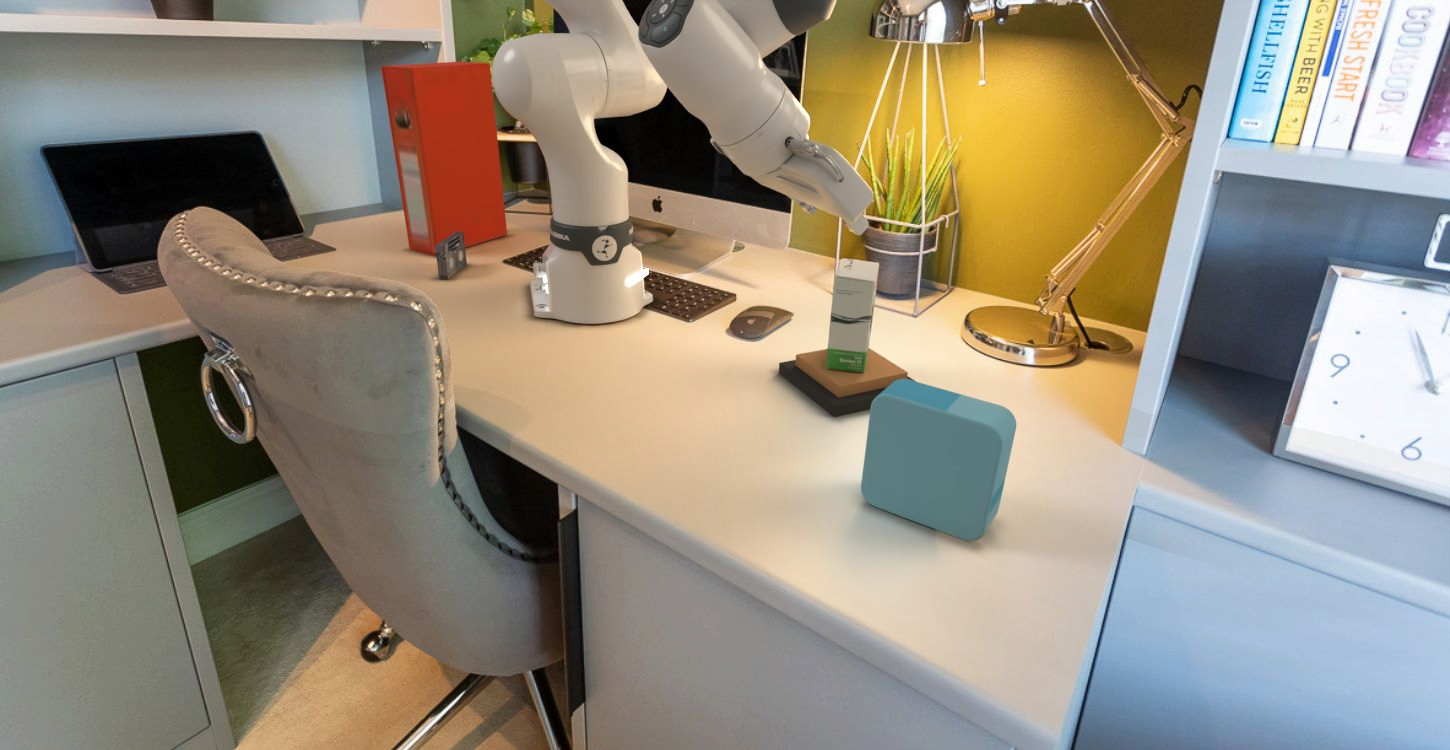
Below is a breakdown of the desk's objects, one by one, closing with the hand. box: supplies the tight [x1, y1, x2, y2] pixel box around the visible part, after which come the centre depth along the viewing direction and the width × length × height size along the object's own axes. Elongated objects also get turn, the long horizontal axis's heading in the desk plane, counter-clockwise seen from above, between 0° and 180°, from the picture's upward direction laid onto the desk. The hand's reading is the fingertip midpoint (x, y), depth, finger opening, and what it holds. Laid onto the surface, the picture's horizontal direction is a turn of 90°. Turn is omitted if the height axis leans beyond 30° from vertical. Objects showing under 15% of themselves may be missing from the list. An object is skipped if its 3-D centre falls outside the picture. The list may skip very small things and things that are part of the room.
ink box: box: [826, 258, 880, 372], centre depth 97 cm, size 9×5×12 cm, turn 166°
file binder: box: [380, 61, 508, 257], centre depth 144 cm, size 8×17×32 cm, turn 150°
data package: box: [860, 379, 1017, 542], centre depth 72 cm, size 12×4×12 cm, turn 56°
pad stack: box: [778, 348, 917, 418], centre depth 98 cm, size 13×13×3 cm
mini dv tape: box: [435, 232, 468, 280], centre depth 133 cm, size 8×2×6 cm, turn 175°
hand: (836, 218), depth 88 cm, fingers open, 8 cm apart
